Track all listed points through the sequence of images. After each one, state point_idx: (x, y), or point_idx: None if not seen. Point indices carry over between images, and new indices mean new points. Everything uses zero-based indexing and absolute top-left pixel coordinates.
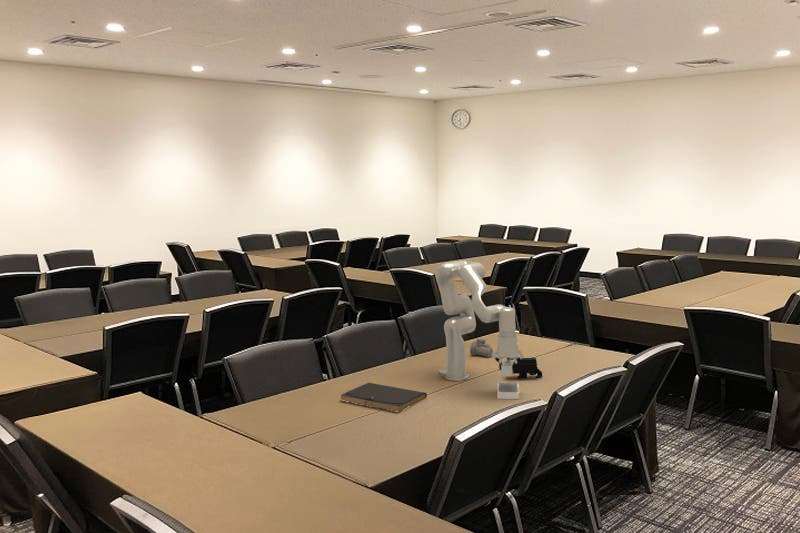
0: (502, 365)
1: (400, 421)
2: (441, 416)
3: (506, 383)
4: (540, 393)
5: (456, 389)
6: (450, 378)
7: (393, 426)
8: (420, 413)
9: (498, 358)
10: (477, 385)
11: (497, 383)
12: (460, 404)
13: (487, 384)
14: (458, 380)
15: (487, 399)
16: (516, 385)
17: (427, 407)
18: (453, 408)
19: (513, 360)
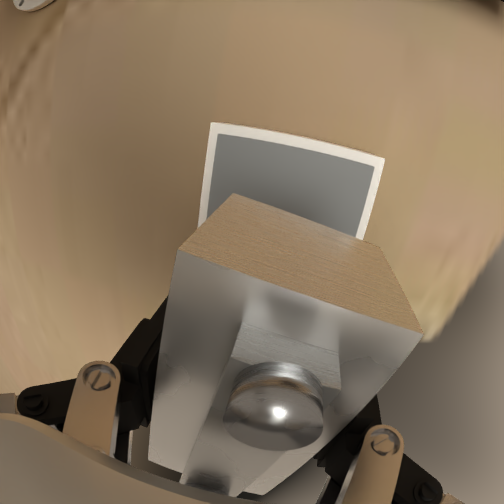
0: (161, 463)
1: (5, 364)
2: (53, 378)
3: (281, 161)
4: (464, 259)
5: (27, 127)
6: (20, 8)
7: (9, 378)
8: (11, 342)
9: (63, 422)
10: (113, 48)
11: (210, 128)
12: (64, 318)
13: (173, 23)
14: (47, 4)
15: (152, 295)
16: (351, 228)
17: (5, 310)
18: (58, 343)
19: (391, 355)
